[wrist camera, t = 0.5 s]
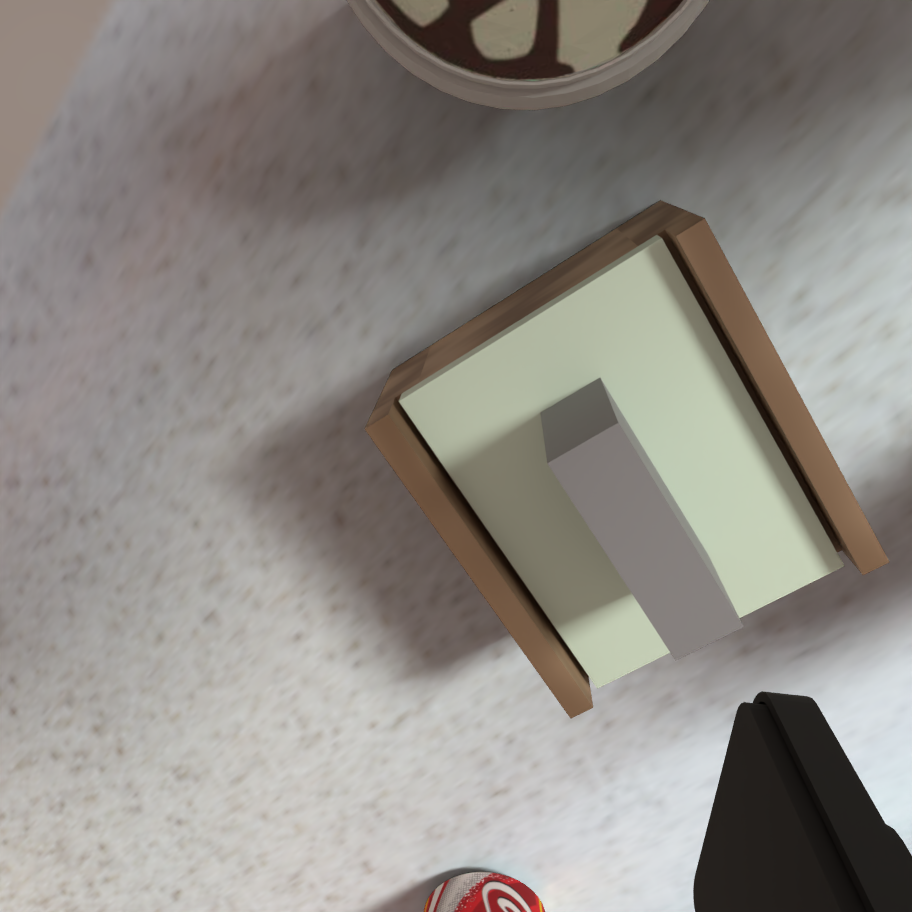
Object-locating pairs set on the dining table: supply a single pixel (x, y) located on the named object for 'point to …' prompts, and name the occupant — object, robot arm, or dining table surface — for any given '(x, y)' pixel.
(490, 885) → the soda can
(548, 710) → the dining table surface
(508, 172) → the dining table surface
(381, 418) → the walnut box
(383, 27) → the food container
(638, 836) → the dining table surface
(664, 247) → the cover plate
